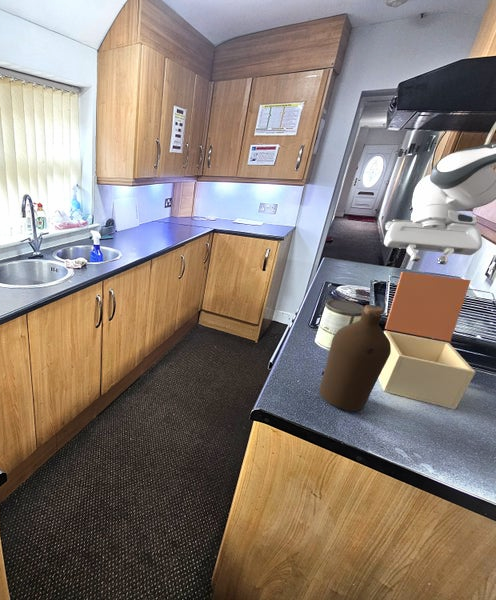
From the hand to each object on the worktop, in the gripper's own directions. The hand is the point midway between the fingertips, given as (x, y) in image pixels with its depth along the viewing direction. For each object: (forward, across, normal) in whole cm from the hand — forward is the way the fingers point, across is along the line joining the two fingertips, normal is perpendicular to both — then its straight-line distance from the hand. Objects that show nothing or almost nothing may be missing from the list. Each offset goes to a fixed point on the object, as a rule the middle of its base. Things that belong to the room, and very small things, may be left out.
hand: (428, 261), depth 92 cm
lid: (+14, 0, 0) cm, 14 cm away
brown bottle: (+46, -17, -5) cm, 50 cm away
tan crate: (+34, 0, +7) cm, 35 cm away
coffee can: (+25, -16, +17) cm, 34 cm away
